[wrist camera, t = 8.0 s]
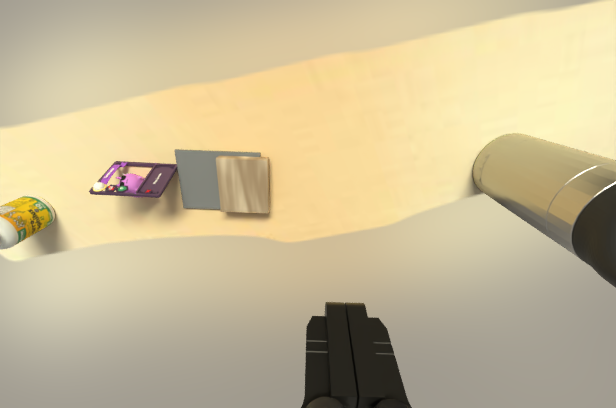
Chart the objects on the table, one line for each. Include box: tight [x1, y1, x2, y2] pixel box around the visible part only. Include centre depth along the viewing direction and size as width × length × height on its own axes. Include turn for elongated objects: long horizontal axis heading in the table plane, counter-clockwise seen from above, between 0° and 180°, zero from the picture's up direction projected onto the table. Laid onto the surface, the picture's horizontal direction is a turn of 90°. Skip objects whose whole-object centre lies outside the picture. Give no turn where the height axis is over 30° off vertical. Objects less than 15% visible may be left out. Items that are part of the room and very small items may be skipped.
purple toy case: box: [89, 161, 177, 198], centre depth 40 cm, size 7×5×9 cm
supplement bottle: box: [0, 195, 55, 249], centre depth 40 cm, size 5×5×10 cm
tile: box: [216, 156, 270, 213], centre depth 41 cm, size 2×8×7 cm
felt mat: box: [175, 150, 260, 209], centre depth 42 cm, size 12×9×1 cm
